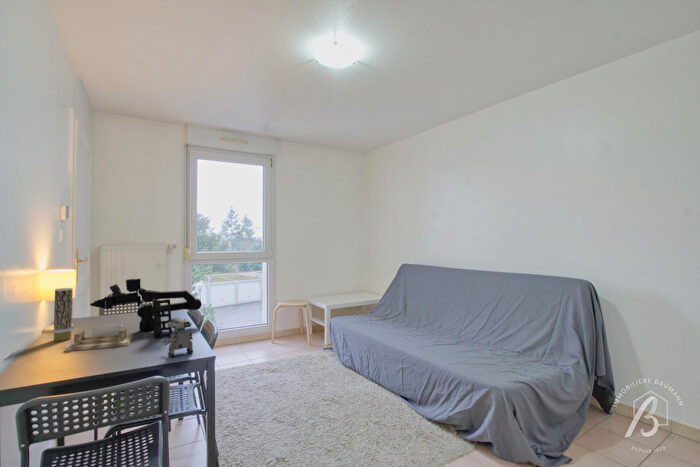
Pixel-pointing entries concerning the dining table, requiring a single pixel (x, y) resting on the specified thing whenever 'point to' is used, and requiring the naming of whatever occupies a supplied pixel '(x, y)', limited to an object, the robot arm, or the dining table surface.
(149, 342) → the dining table surface
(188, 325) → the figurine
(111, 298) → the robot arm
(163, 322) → the holder
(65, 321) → the bark textured pillar
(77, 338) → the roll cradle
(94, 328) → the paper roll
